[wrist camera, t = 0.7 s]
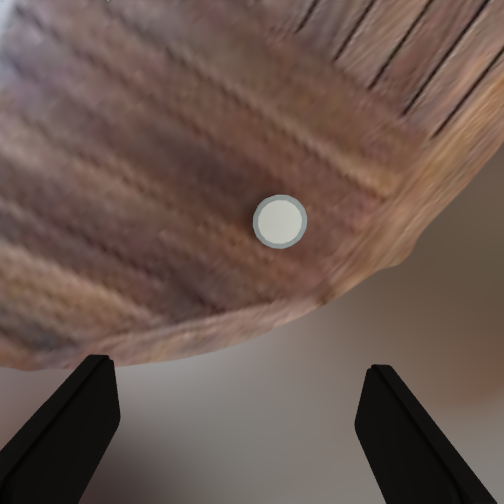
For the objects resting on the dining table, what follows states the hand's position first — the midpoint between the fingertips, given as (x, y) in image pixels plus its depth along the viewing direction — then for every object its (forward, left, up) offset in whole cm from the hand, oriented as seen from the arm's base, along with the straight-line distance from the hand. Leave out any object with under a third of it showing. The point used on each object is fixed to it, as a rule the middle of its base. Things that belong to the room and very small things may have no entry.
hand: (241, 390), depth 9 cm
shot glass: (-5, +1, -30) cm, 30 cm away
